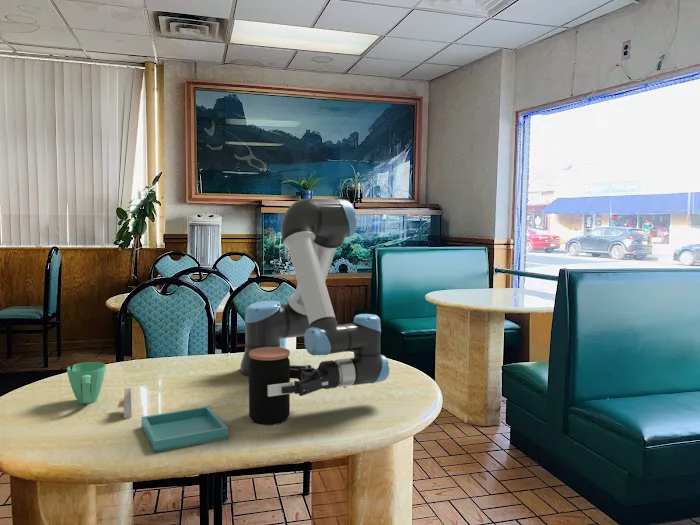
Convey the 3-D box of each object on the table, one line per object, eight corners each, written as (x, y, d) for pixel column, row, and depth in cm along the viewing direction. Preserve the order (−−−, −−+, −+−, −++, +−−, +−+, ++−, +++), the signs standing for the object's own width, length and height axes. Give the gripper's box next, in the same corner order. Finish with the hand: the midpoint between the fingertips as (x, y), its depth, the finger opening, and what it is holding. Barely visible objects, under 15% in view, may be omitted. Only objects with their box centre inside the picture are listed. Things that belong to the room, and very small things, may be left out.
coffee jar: (296, 414, 152) (296, 348, 150) (278, 428, 142) (278, 358, 140) (261, 409, 155) (260, 345, 153) (241, 422, 145) (240, 354, 143)
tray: (141, 426, 142) (141, 416, 141) (208, 415, 150) (208, 405, 150) (154, 452, 127) (154, 441, 127) (228, 438, 135) (227, 427, 135)
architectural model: (117, 421, 147) (116, 393, 146) (120, 411, 153) (119, 385, 153) (131, 419, 148) (130, 392, 147) (134, 410, 154) (133, 384, 154)
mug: (68, 397, 162) (67, 364, 161) (105, 393, 166) (104, 360, 165) (67, 415, 149) (65, 378, 148) (107, 409, 153) (106, 374, 152)
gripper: (354, 401, 144) (274, 413, 135) (318, 374, 167) (248, 383, 158) (354, 372, 143) (274, 382, 135) (318, 349, 166) (248, 357, 157)
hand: (260, 383), depth 146 cm, fingers open, 13 cm apart
